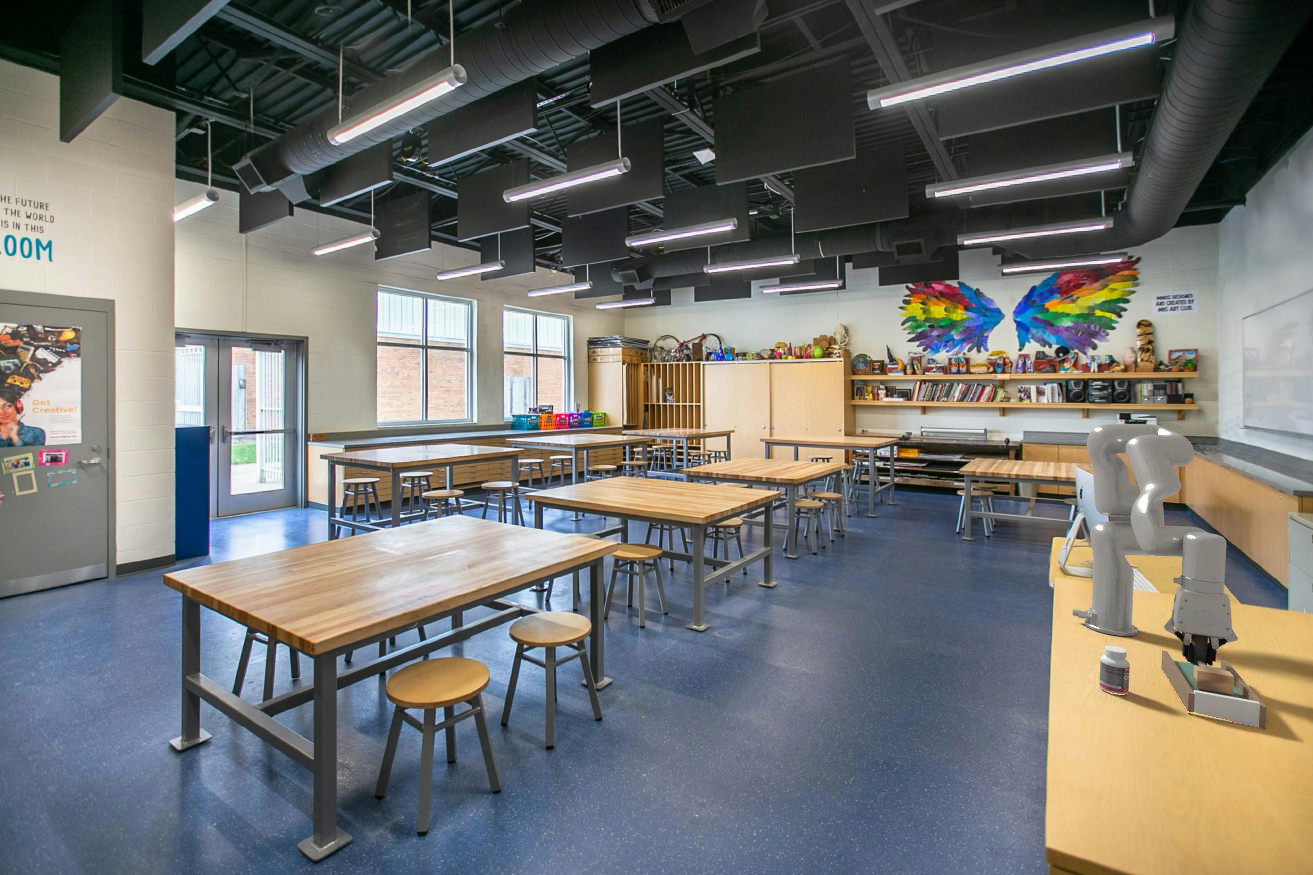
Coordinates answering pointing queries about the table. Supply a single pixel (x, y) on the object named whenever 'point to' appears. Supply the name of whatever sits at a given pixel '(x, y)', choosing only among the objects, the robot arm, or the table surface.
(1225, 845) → the table surface
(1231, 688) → the striker
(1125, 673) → the pill bottle
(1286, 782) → the table surface
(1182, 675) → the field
